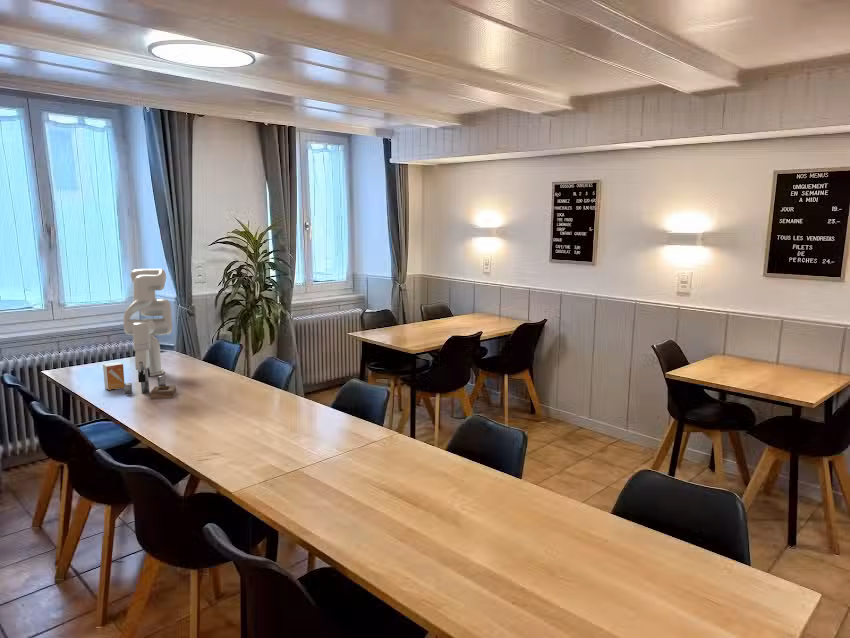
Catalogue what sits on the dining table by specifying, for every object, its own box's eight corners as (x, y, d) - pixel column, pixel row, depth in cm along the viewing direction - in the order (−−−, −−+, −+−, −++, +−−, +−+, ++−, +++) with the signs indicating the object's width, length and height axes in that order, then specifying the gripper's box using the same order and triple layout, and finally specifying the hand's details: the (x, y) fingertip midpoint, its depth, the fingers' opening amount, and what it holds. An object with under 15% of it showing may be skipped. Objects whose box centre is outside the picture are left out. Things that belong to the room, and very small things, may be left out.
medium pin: (159, 390, 299) (158, 375, 297) (166, 390, 300) (165, 375, 298) (158, 392, 295) (156, 377, 294) (165, 392, 296) (164, 377, 295)
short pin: (125, 392, 295) (124, 383, 294) (133, 392, 296) (132, 382, 295) (123, 394, 292) (122, 385, 291) (131, 394, 292) (130, 384, 292)
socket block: (155, 392, 295) (154, 386, 294) (176, 391, 297) (175, 385, 297) (151, 399, 285) (150, 392, 285) (172, 397, 288) (172, 390, 287)
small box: (108, 391, 297) (106, 366, 295) (104, 388, 302) (102, 364, 299) (125, 388, 303) (123, 363, 300) (121, 385, 307) (119, 361, 305)
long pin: (142, 391, 297) (140, 368, 295) (150, 391, 298) (148, 368, 296) (140, 393, 293) (139, 370, 291) (148, 393, 294) (146, 370, 292)
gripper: (138, 343, 299) (140, 375, 301) (129, 350, 282) (132, 384, 285) (153, 342, 300) (156, 375, 303) (146, 349, 284) (148, 383, 287)
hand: (144, 379), depth 294 cm, fingers open, 9 cm apart
